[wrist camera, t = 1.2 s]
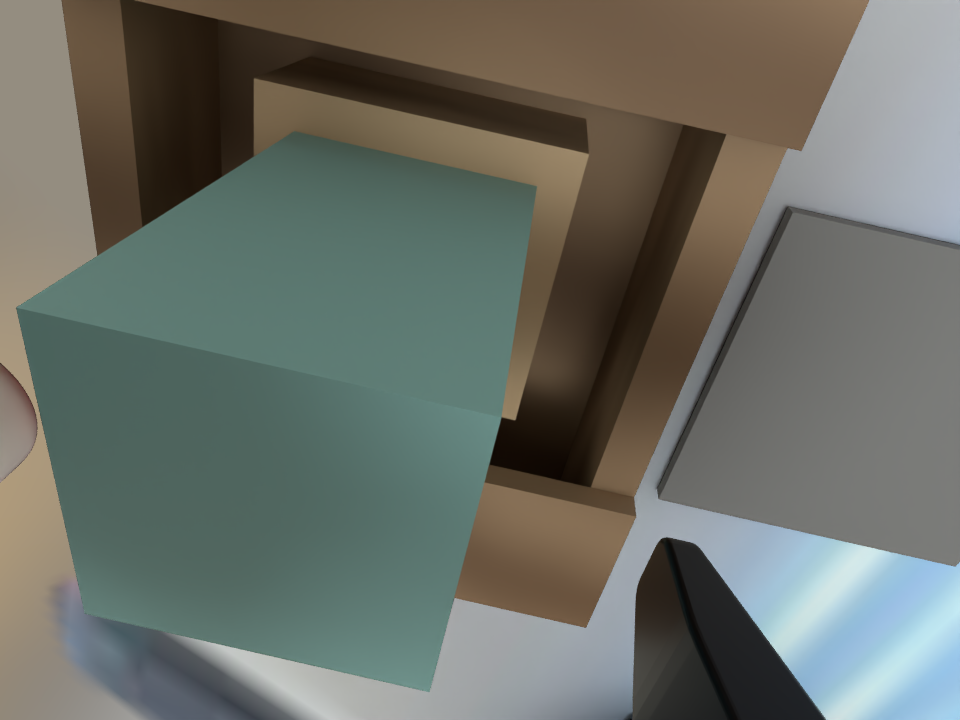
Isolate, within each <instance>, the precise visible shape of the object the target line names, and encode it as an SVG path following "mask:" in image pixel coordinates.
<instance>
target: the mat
mask: <svg viewBox="0 0 960 720" xmlns="http://www.w3.org/2000/svg"><path fill="white" fill-rule="evenodd" d="M657 492H658V498H659V499H660V500H664V501H669V502H673V503H677V504H682V505H686V506H691V507H695V508H699V509H704V510H708V511H713V512H717V513H721V514H726V515H730V516H735V517H739V518H743V519H748V520H752V521H757V522H761V523H765V524H770V525H774V526H779V527H783V528H788V529H792V530H796V531H801V532H805V533H810V534H814V535H818V536H823V537H827V538H832V539H836V540H840V541H845V542H849V543H854V544H858V545H862V546H867V547H871V548H876V549H880V550H884V551H889V552H893V553H898V554H902V555H906V556H911V557H915V558H920V559H924V560H928V561H933V562H937V563H942V564H946V565H951V566H956V565H957V564H958V563H959V562H960V245H956V244H951V243H947V242H943V241H938V240H934V239H929V238H925V237H921V236H916V235H912V234H907V233H903V232H898V231H894V230H890V229H885V228H881V227H876V226H872V225H867V224H863V223H859V222H854V221H850V220H845V219H841V218H837V217H832V216H828V215H823V214H819V213H814V212H810V211H806V210H801V209H797V208H792V207H788V208H787V210H786V212H785V214H784V217H783V219H782V221H781V223H780V225H779V227H778V230H777V232H776V234H775V236H774V238H773V240H772V243H771V245H770V247H769V249H768V251H767V253H766V256H765V258H764V260H763V262H762V264H761V266H760V269H759V271H758V273H757V275H756V277H755V279H754V282H753V284H752V286H751V288H750V290H749V292H748V294H747V297H746V299H745V301H744V303H743V305H742V307H741V310H740V312H739V314H738V316H737V318H736V320H735V323H734V325H733V327H732V329H731V331H730V333H729V336H728V338H727V340H726V342H725V344H724V346H723V349H722V351H721V353H720V355H719V357H718V359H717V362H716V364H715V366H714V368H713V370H712V372H711V375H710V377H709V379H708V381H707V383H706V385H705V388H704V390H703V392H702V394H701V396H700V398H699V401H698V403H697V405H696V407H695V409H694V411H693V414H692V416H691V418H690V420H689V422H688V424H687V427H686V429H685V431H684V433H683V435H682V437H681V440H680V442H679V444H678V446H677V448H676V450H675V453H674V455H673V457H672V459H671V461H670V463H669V466H668V468H667V470H666V472H665V474H664V476H663V479H662V481H661V483H660V485H659V487H658V489H657Z"/></svg>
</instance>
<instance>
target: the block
mask: <svg viewBox="0 0 960 720" xmlns="http://www.w3.org/2000/svg"><path fill="white" fill-rule="evenodd" d="M536 190H537V186H534V185H530V184H526V183H521V182H517V181H512V180H508V179H503V178H499V177H495V176H490V175H486V174H481V173H477V172H472V171H468V170H464V169H459V168H455V167H450V166H446V165H442V164H437V163H433V162H428V161H424V160H419V159H415V158H411V157H406V156H402V155H397V154H393V153H389V152H384V151H380V150H375V149H371V148H366V147H362V146H358V145H353V144H349V143H344V142H340V141H336V140H331V139H327V138H322V137H318V136H313V135H309V134H305V133H300V132H296V131H294V132H292V133H291V134H289V135H287V136H286V137H284V138H283V139H281V140H280V141H278V142H276V143H275V144H273V145H272V146H270V147H268V148H267V149H265V150H264V151H262V152H261V153H259V154H257V155H256V156H254V157H253V158H251V159H250V160H248V161H246V162H245V163H243V164H242V165H240V166H239V167H237V168H235V169H234V170H232V171H231V172H229V173H227V174H226V175H224V176H223V177H221V178H220V179H218V180H216V181H215V182H213V183H212V184H210V185H209V186H207V187H205V188H204V189H202V190H201V191H199V192H198V193H196V194H194V195H193V196H191V197H190V198H188V199H187V200H185V201H183V202H182V203H180V204H179V205H177V206H175V207H174V208H172V209H171V210H169V211H168V212H166V213H164V214H163V215H161V216H160V217H158V218H157V219H155V220H153V221H152V222H150V223H149V224H147V225H146V226H144V227H142V228H141V229H139V230H138V231H136V232H134V233H133V234H131V235H130V236H128V237H127V238H125V239H123V240H122V241H120V242H119V243H117V244H116V245H114V246H112V247H111V248H109V249H108V250H106V251H105V252H103V253H101V254H100V255H98V256H97V257H95V258H93V259H92V260H90V261H89V262H87V263H86V264H84V265H82V266H81V267H79V268H78V269H76V270H75V271H73V272H71V273H70V274H68V275H67V276H65V277H64V278H62V279H61V280H59V281H57V282H56V283H54V284H53V285H51V286H49V287H48V288H46V289H45V290H43V291H42V292H40V293H38V294H37V295H35V296H34V297H32V298H31V299H29V300H27V301H26V302H24V303H23V304H21V305H19V306H18V307H17V308H16V309H17V314H18V318H19V323H20V327H21V331H22V336H23V340H24V345H25V349H26V354H27V358H28V363H29V367H30V371H31V376H32V380H33V385H34V389H35V394H36V398H37V403H38V407H39V411H40V416H41V421H42V425H43V429H44V434H45V438H46V443H47V447H48V451H49V456H50V460H51V465H52V470H53V474H54V478H55V483H56V487H57V492H58V496H59V501H60V505H61V510H62V514H63V518H64V523H65V528H66V532H67V536H68V541H69V545H70V550H71V554H72V559H73V563H74V568H75V572H76V577H77V581H78V585H79V590H80V594H81V599H82V603H83V608H84V612H85V614H89V615H93V616H97V617H102V618H106V619H111V620H115V621H119V622H124V623H128V624H132V625H137V626H141V627H146V628H150V629H154V630H159V631H163V632H168V633H172V634H176V635H181V636H185V637H190V638H194V639H198V640H203V641H207V642H212V643H216V644H220V645H225V646H229V647H234V648H238V649H242V650H247V651H251V652H255V653H260V654H264V655H269V656H273V657H277V658H282V659H286V660H291V661H295V662H299V663H304V664H308V665H313V666H317V667H321V668H326V669H330V670H335V671H339V672H343V673H348V674H352V675H357V676H361V677H365V678H370V679H374V680H379V681H383V682H387V683H392V684H396V685H400V686H405V687H409V688H414V689H418V690H422V691H427V692H430V688H431V684H432V680H433V677H434V673H435V669H436V665H437V661H438V657H439V654H440V650H441V646H442V642H443V638H444V635H445V631H446V627H447V623H448V619H449V615H450V612H451V608H452V604H453V600H454V596H455V593H456V589H457V585H458V581H459V577H460V573H461V570H462V566H463V562H464V558H465V554H466V551H467V547H468V543H469V539H470V535H471V531H472V528H473V524H474V520H475V516H476V512H477V509H478V505H479V501H480V497H481V493H482V489H483V486H484V482H485V478H486V474H487V470H488V467H489V463H490V459H491V455H492V451H493V448H494V444H495V440H496V436H497V432H498V428H499V425H500V421H501V416H502V410H503V404H504V397H505V391H506V384H507V378H508V371H509V365H510V358H511V352H512V345H513V339H514V333H515V326H516V320H517V313H518V307H519V300H520V294H521V287H522V281H523V274H524V268H525V261H526V255H527V249H528V242H529V236H530V229H531V223H532V216H533V210H534V203H535V197H536Z"/></svg>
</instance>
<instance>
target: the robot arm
mask: <svg viewBox="0 0 960 720" xmlns="http://www.w3.org/2000/svg"><path fill="white" fill-rule="evenodd" d="M630 720H826V719H825V717H824V716H823V715H822V713H821V712H820V710H819V709H818V708H817V706H816V705H815V704H814V702H813V701H812V700H811V698H810V697H809V696H808V694H807V693H806V691H805V690H804V689H803V687H802V686H801V685H800V683H799V682H798V681H797V679H796V678H795V677H794V675H793V674H792V672H791V671H790V670H789V668H788V667H787V666H786V664H785V663H784V662H783V660H782V659H781V658H780V656H779V655H778V654H777V652H776V651H775V649H774V648H773V647H772V645H771V644H770V643H769V641H768V640H767V639H766V637H765V636H764V635H763V633H762V632H761V630H760V629H759V628H758V626H757V625H756V624H755V622H754V621H753V620H752V618H751V617H750V616H749V614H748V613H747V611H746V610H745V609H744V607H743V606H742V605H741V603H740V602H739V601H738V599H737V598H736V597H735V595H734V594H733V593H732V591H731V590H730V588H729V587H728V586H727V584H726V583H725V582H724V580H723V579H722V578H721V576H720V575H719V574H718V572H717V571H716V569H715V568H714V567H713V565H712V564H711V563H710V561H709V560H708V559H707V557H706V556H705V555H704V553H703V552H702V550H701V549H700V548H699V547H698V546H697V545H695V544H693V543H690V542H686V541H682V540H677V539H673V538H668V537H667V538H662V539H661V540H660V541H659V542H658V544H657V545H656V547H655V549H654V551H653V553H652V556H651V558H650V560H649V562H648V564H647V566H646V568H645V570H644V572H643V574H642V576H641V578H640V580H639V583H638V587H637V593H636V608H635V641H634V674H633V718H632V719H630Z"/></svg>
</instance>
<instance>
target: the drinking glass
mask: <svg viewBox="0 0 960 720" xmlns="http://www.w3.org/2000/svg"><path fill="white" fill-rule="evenodd" d="M36 436H37V419H36V414H35V410H34V407H33V405H32V403H31V400H30V399H29V396H28V395H27V393H26V392H25V390H24V389H23V387H22V386H21V384H20V383H19V382H18V380H17V379H16V378H15V377H14V376H13V375H12V374H11V373H10V372H9V371H8V370H7V369H6V368H5V367H4V366H3V365H2V364H1V363H0V482H1V481H2V480H3V479H5V478H6V477H7V476H8V475H9V474H10V473H11V472H12V471H13V470H14V469H15V468H17V467H18V466H19V465H20V464H21V463H22V462H23V460H24V459H25V458H26V457H27V456H28V454H29V453H30V451H31V450H32V448H33V446H34V443H35V440H36Z"/></svg>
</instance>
